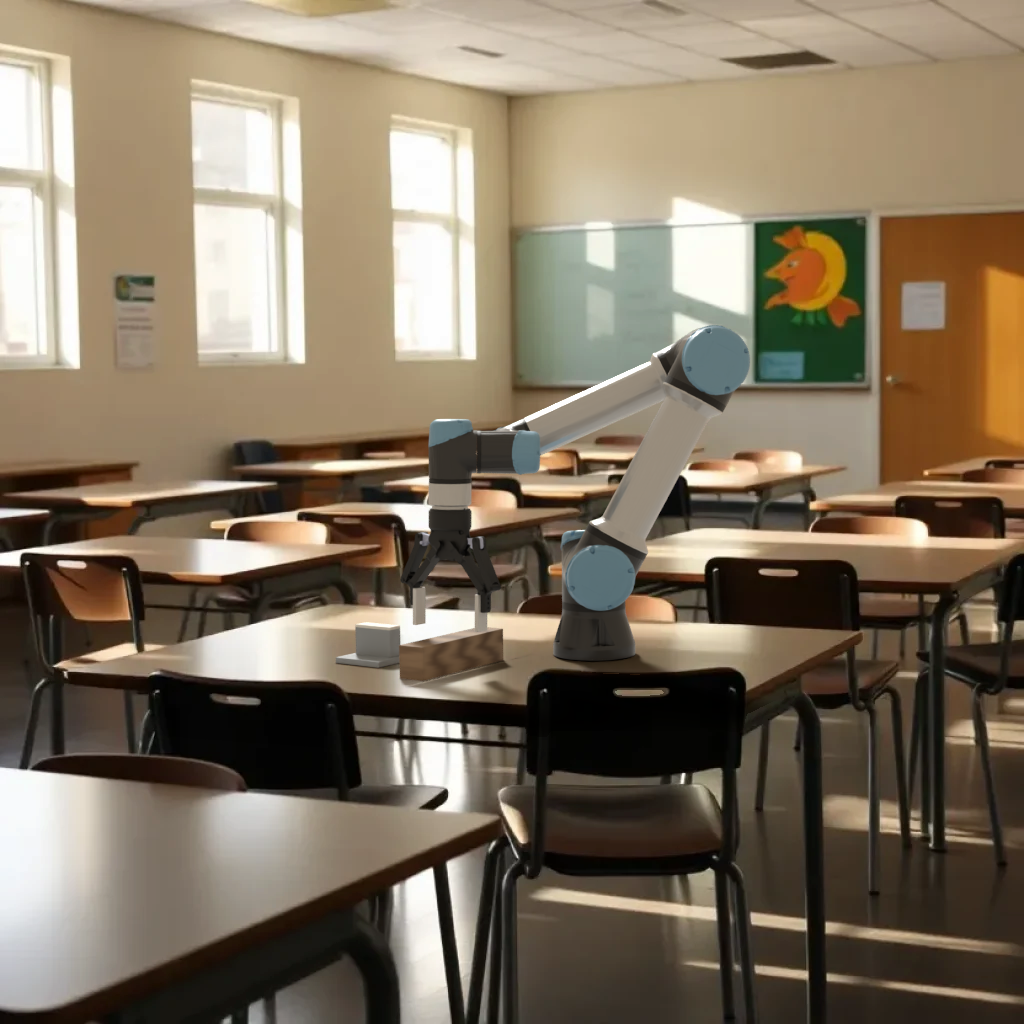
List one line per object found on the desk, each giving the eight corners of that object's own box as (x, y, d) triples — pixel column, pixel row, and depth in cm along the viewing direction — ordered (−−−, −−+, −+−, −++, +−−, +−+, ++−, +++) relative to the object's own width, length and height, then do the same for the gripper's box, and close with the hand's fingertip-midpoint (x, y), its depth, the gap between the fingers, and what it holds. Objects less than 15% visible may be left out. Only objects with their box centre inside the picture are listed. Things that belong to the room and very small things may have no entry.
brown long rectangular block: (480, 659, 316) (480, 626, 316) (503, 661, 313) (502, 628, 313) (399, 679, 296) (399, 645, 296) (423, 682, 294) (422, 647, 293)
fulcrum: (420, 657, 317) (419, 622, 316) (378, 667, 307) (377, 631, 306) (378, 653, 322) (377, 618, 322) (335, 662, 313) (334, 627, 312)
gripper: (520, 509, 298) (520, 631, 300) (407, 502, 313) (407, 618, 314) (495, 512, 292) (495, 636, 294) (381, 504, 307) (381, 623, 308)
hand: (449, 627), depth 304 cm, fingers open, 13 cm apart
